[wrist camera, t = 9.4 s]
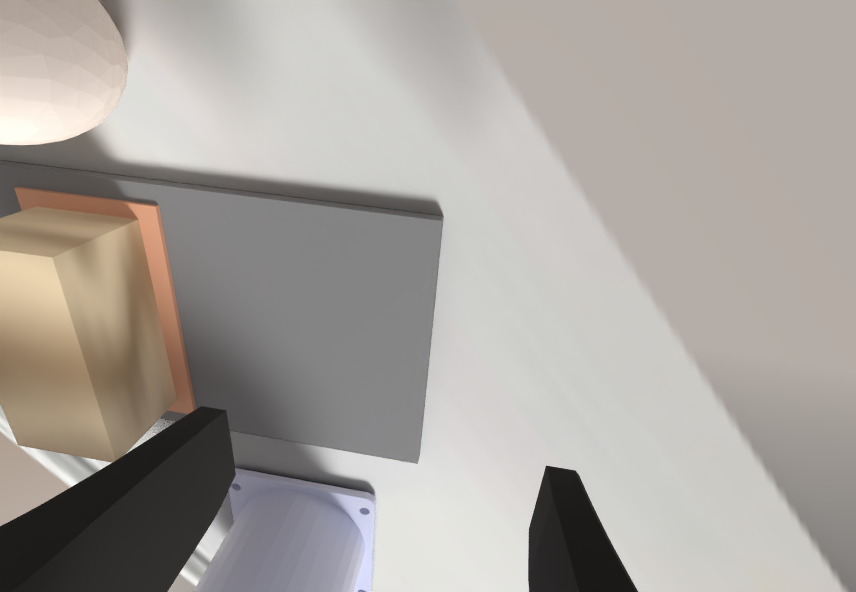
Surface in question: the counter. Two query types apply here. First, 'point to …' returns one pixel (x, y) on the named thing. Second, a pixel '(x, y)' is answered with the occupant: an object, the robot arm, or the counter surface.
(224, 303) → the rubber mat
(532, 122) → the counter surface
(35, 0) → the egg
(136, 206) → the terracotta strip
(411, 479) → the counter surface
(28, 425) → the tan wooden block
